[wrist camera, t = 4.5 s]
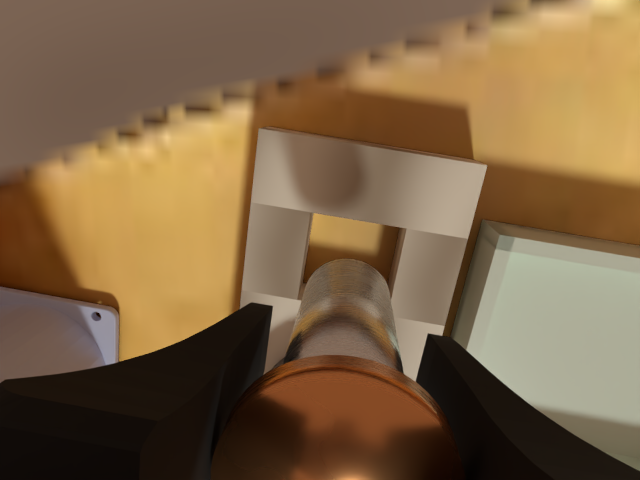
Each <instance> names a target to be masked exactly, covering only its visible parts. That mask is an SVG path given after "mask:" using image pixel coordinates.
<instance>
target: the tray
mask: <svg viewBox="0 0 640 480" xmlns="http://www.w3.org/2000/svg"><path fill="white" fill-rule="evenodd" d="M450 337H451V338H452V339H453V340H455V341H456V342H457V343H459V344H460V345H461V346H462V347H463V348H464V349H465V350H467V351H468V352H469V353H470V354H471V355H472V356H473V357H474V358H475V359H476V360H478V361H479V362H480V363H481V364H482V365H483V366H484V367H485V368H486V369H488V370H489V371H490V372H491V373H492V374H493V375H494V376H496V377H497V378H498V379H499V380H500V381H501V382H503V383H504V384H505V385H506V386H507V387H509V388H510V389H511V390H512V391H514V392H515V393H516V394H517V395H519V396H520V397H521V398H522V399H524V400H525V401H526V402H527V403H529V404H530V405H531V406H533V407H534V408H536V409H537V410H538V411H540V412H541V413H543V414H544V415H545V416H547V417H548V418H550V419H551V420H553V421H554V422H556V423H557V424H559V425H560V426H562V427H563V428H565V429H566V430H568V431H569V432H571V433H573V434H574V435H576V436H577V437H579V438H581V439H582V440H584V441H586V442H588V443H589V444H591V445H593V446H594V447H596V448H598V449H600V450H601V451H603V452H605V453H607V454H608V455H610V456H612V457H614V458H616V459H618V460H619V461H621V462H623V463H625V464H627V465H629V466H631V467H633V468H635V469H637V470H639V471H640V246H639V245H633V244H627V243H621V242H615V241H609V240H603V239H597V238H591V237H585V236H579V235H573V234H567V233H561V232H555V231H549V230H543V229H537V228H531V227H525V226H519V225H513V224H507V223H501V222H495V221H489V220H483V219H482V222H481V226H480V230H479V233H478V237H477V241H476V244H475V248H474V252H473V255H472V259H471V263H470V266H469V270H468V274H467V277H466V281H465V285H464V288H463V292H462V296H461V299H460V303H459V307H458V310H457V314H456V317H455V321H454V325H453V328H452V332H451V336H450Z"/></svg>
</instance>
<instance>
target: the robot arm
mask: <svg viewBox="0 0 640 480" xmlns="http://www.w3.org/2000/svg"><path fill="white" fill-rule="evenodd" d="M272 311H273V306H271V305H265V304H259V303H254V302H251V303H249V304H247V305H246V306H244V307H242V308H241V309H239V310H238V311H236V312H234V313H233V314H231V315H229V316H228V317H226V318H224V319H223V320H221V321H219V322H218V323H216V324H214V325H212V326H210V327H209V328H207V329H205V330H203V331H201V332H199V333H197V334H195V335H193V336H191V337H189V338H187V339H185V340H182V341H180V342H178V343H175V344H173V345H171V346H168V347H165V348H163V349H160V350H157V351H155V352H152V353H149V354H145V355H142V356H138V357H135V358H131V359H128V360H124V361H121V362H118V352H119V314H118V312H117V310H116V309H114V308H113V307H110V306H105V305H100V304H94V303H89V302H83V301H78V300H72V299H66V298H61V297H55V296H50V295H44V294H39V293H33V292H28V291H22V290H17V289H11V288H6V287H0V480H211V465H212V459H213V455H214V452H215V449H216V446H217V443H218V441H219V439H220V436H221V434H222V432H223V429H224V427H225V424H226V422H227V420H228V417H229V415H230V413H231V411H232V409H233V407H234V405H235V403H236V402H237V400H238V399H239V397H240V396H241V395H242V394H243V392H244V391H245V390H246V389H247V388H248V387H249V386H250V385H251V384H252V383H253V382H254V381H255V380H257V379H258V378H260V377H261V376H262V375H263V374H264V370H265V364H266V356H267V348H268V341H269V333H270V326H271V318H272ZM96 312H98V313H99V314H100V315H101V318H100V317H98V316H97V315H96ZM416 382H417V383H418V384H419V385H420V386H421V387H423V388H424V389H425V390H426V391H427V392H428V393H429V394H430V395H431V396H432V397H433V398H434V400H435V401H436V402H437V403H438V404H439V406H440V407H441V409H442V411H443V412H444V414H445V415H446V417H447V419H448V422H449V424H450V426H451V428H452V431H453V435H454V438H455V442H456V445H457V448H458V452H459V455H460V458H461V462H462V465H463V469H464V473H465V476H466V480H640V471H639V470H637V469H635V468H633V467H631V466H629V465H627V464H625V463H623V462H621V461H619V460H618V459H616V458H614V457H612V456H610V455H608V454H607V453H605V452H603V451H601V450H600V449H598V448H596V447H594V446H593V445H591V444H589V443H588V442H586V441H584V440H582V439H581V438H579V437H577V436H576V435H574V434H573V433H571V432H569V431H568V430H566V429H565V428H563V427H562V426H560V425H559V424H557V423H556V422H554V421H553V420H551V419H550V418H548V417H547V416H545V415H544V414H543V413H541V412H540V411H538V410H537V409H536V408H534V407H533V406H531V405H530V404H529V403H527V402H526V401H525V400H524V399H522V398H521V397H520V396H519V395H517V394H516V393H515V392H514V391H512V390H511V389H510V388H509V387H507V386H506V385H505V384H504V383H503V382H501V381H500V380H499V379H498V378H497V377H496V376H494V375H493V374H492V373H491V372H490V371H489V370H488V369H486V368H485V367H484V366H483V365H482V364H481V363H480V362H479V361H478V360H476V359H475V358H474V357H473V356H472V355H471V354H470V353H469V352H468V351H467V350H465V349H464V348H463V347H462V346H461V345H460V344H459V343H457V342H456V341H455V340H453V339H452V338H451V337H446V336H440V335H435V334H429V333H428V334H427V338H426V342H425V346H424V350H423V354H422V358H421V362H420V366H419V370H418V374H417V378H416Z"/></svg>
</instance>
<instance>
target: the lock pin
mask: <svg viewBox="0 0 640 480" xmlns="http://www.w3.org/2000/svg"><path fill="white" fill-rule="evenodd" d="M211 480H466V476H465V473H464V469H463V465H462V462H461V458H460V455H459V452H458V448H457V445H456V442H455V438H454V435H453V431H452V428H451V426H450V424H449V422H448V419H447V417H446V415H445V414H444V412H443V411H442V409H441V407H440V406H439V404H438V403H437V402H436V401H435V400H434V398H433V397H432V396H431V395H430V394H429V393H428V392H427V391H426V390H425V389H424V388H423V387H421V386H420V385H419V384H418V383H417V382H415V381H414V380H412V379H411V378H409V377H408V376H406V375H405V374H404V371H403V366H402V360H401V354H400V349H399V343H398V337H397V332H396V326H395V320H394V315H393V309H392V303H391V298H390V292H389V288H388V285H387V283H386V281H385V279H384V278H383V276H382V275H381V274H380V273H379V272H378V271H377V270H376V269H375V268H374V267H372V266H371V265H369V264H367V263H365V262H362V261H359V260H355V259H337V260H333V261H330V262H328V263H326V264H324V265H322V266H321V267H319V268H318V269H317V270H316V271H315V272H314V273H313V274H312V275H311V277H310V278H309V280H308V282H307V284H306V287H305V290H304V294H303V297H302V301H301V304H300V307H299V311H298V314H297V317H296V321H295V324H294V328H293V331H292V334H291V338H290V341H289V344H288V348H287V351H286V355H285V358H284V361H283V365H280V366H278V367H276V368H274V369H272V370H270V371H268V372H267V373H265V374H264V375H262V376H261V377H260V378H258V379H257V380H255V381H254V382H253V383H252V384H251V385H250V386H249V387H248V388H247V389H246V390H245V391H244V392H243V394H242V395H241V396H240V397H239V399H238V400H237V402H236V403H235V405H234V407H233V409H232V411H231V413H230V415H229V417H228V420H227V422H226V424H225V427H224V429H223V432H222V434H221V436H220V439H219V441H218V443H217V446H216V449H215V452H214V455H213V459H212V465H211Z"/></svg>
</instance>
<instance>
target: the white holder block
mask: <svg viewBox="0 0 640 480" xmlns="http://www.w3.org/2000/svg"><path fill="white" fill-rule="evenodd" d="M486 169H487V165H485V164H483V163H481V162H478V161H476V160H473V159H466V158H460V157H454V156H448V155H442V154H436V153H429V152H423V151H417V150H411V149H405V148H399V147H392V146H386V145H380V144H374V143H368V142H362V141H355V140H349V139H343V138H337V137H331V136H325V135H318V134H312V133H306V132H300V131H294V130H287V129H281V128H275V127H263V128H259V131H258V140H257V150H256V159H255V168H254V178H253V187H252V197H251V206H250V215H249V225H248V234H247V244H246V253H245V262H244V272H243V281H242V291H241V300H240V309H241V308H242V307H244V306H246V305H247V304H249V303H251V302H254V303H259V304H265V305H271V306H273V311H272V318H271V326H270V333H269V341H268V348H267V356H266V364H265V370H264V374H265V373H267V372H268V371H270V370H272V369H274V368H276V367H278V366H280V365H283V361H284V358H285V355H286V351H287V348H288V344H289V341H290V338H291V334H292V331H293V328H294V324H295V321H296V317H297V314H298V311H299V307H300V304H301V301H302V297H303V294H304V290H305V287H306V284H307V283H303V278H304V272H305V265H306V259H307V252H308V246H309V239H310V232H311V226H312V219H313V213H318V214H324V215H329V216H335V217H341V218H347V219H353V220H359V221H365V222H371V223H377V224H383V225H389V226H395V227H400V229H399V234H398V238H397V243H396V248H395V252H394V257H393V262H392V266H391V271H390V276H389V280H388V288H389V292H390V298H391V303H392V309H393V315H394V320H395V326H396V332H397V337H398V343H399V349H400V354H401V360H402V366H403V371H404V374H405V375H406V376H408V377H409V378H411V379H412V380H414V381H415V382H416V378H417V374H418V370H419V366H420V362H421V358H422V354H423V350H424V346H425V342H426V338H427V334H428V333H429V334H435V335H440V336H442V334H443V330H444V327H445V323H446V319H447V315H448V312H449V308H450V304H451V300H452V297H453V293H454V289H455V285H456V282H457V278H458V274H459V270H460V267H461V263H462V259H463V255H464V252H465V248H466V244H467V240H468V237H469V233H470V229H471V225H472V222H473V218H474V214H475V210H476V207H477V203H478V199H479V195H480V192H481V188H482V184H483V180H484V177H485V173H486ZM264 374H263V375H264Z"/></svg>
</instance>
